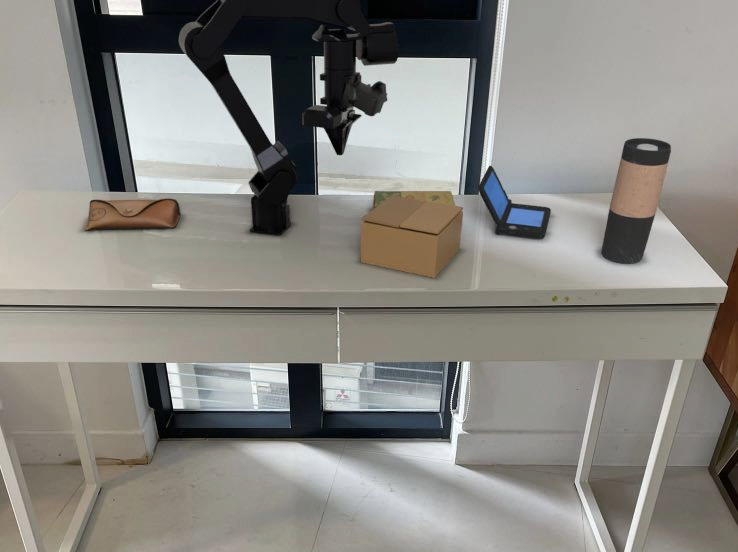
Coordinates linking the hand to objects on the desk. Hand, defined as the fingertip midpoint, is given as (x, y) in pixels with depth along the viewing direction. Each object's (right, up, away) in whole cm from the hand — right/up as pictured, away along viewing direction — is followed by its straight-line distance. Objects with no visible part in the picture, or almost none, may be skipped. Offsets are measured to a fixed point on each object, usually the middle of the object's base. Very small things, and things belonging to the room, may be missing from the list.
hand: (340, 154), depth 138 cm
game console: (+35, -12, +6) cm, 37 cm away
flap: (+10, -13, -11) cm, 20 cm away
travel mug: (+51, -21, -7) cm, 56 cm away
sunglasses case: (-41, -12, +6) cm, 43 cm away
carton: (+15, -10, +8) cm, 20 cm away
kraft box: (+13, -21, -7) cm, 26 cm away
